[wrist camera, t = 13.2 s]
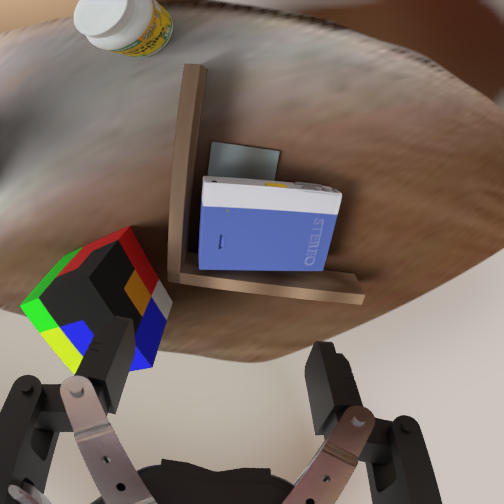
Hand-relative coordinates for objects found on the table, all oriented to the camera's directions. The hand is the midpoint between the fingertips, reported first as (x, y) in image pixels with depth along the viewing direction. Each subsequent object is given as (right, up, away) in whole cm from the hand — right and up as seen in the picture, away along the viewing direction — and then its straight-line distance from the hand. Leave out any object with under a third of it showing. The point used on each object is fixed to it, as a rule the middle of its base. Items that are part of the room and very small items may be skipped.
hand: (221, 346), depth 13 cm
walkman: (-3, +7, +13) cm, 15 cm away
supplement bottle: (-8, +24, +8) cm, 26 cm away
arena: (+4, +10, +15) cm, 19 cm away
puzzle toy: (-14, +1, +20) cm, 25 cm away
